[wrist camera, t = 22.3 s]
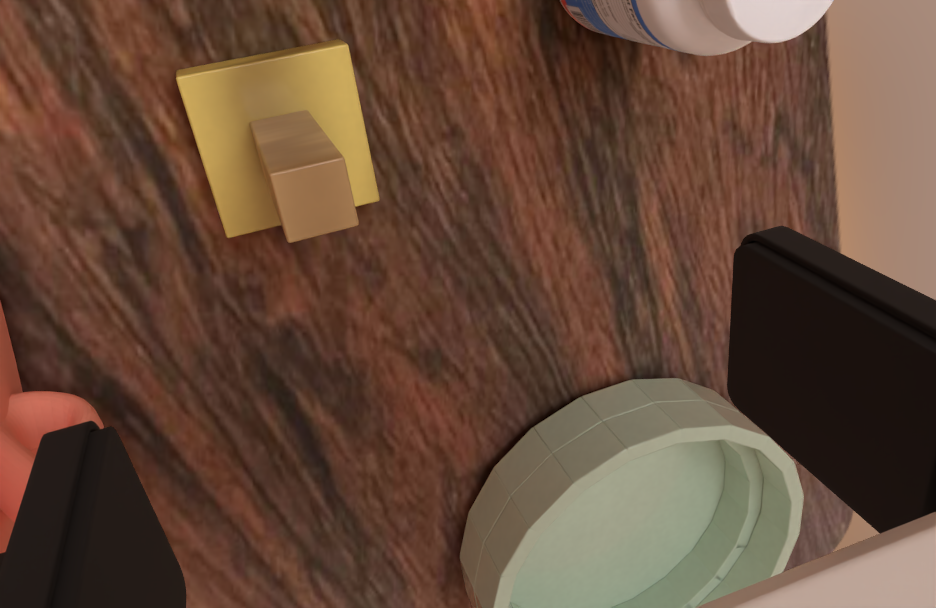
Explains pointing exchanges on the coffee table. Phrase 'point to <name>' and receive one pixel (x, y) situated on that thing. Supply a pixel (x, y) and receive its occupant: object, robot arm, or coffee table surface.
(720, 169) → the coffee table surface
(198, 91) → the square plate with grip
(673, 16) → the pill bottle
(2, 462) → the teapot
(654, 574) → the bowl
